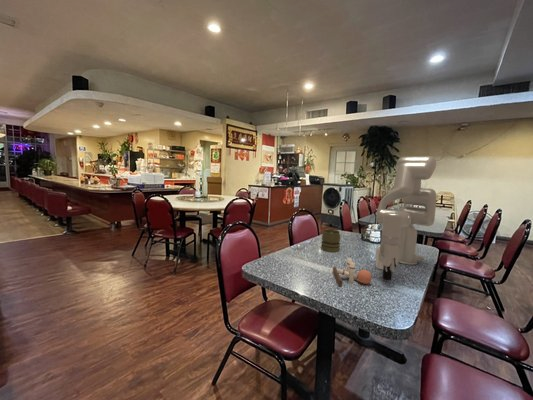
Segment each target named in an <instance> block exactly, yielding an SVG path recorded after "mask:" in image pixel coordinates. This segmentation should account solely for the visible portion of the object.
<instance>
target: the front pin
mask: <svg viewBox="0 0 533 400" xmlns="http://www.w3.org/2000/svg"><path fill="white" fill-rule="evenodd" d="M337 273H339V275H340V276H344V277H346V276H347V277H349V272H347V271H346V270H344V269H341V268H337ZM354 281H358V278H357V274H355V273H354Z"/></svg>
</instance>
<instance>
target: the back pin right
mask: <svg viewBox="0 0 533 400" xmlns="http://www.w3.org/2000/svg"><path fill="white" fill-rule="evenodd" d="M350 262H353V258H352V257H351V258H350V257H347V259H346V270H345V271H347V272H349V266H350ZM345 278H346V279H349V277H347V276H345Z"/></svg>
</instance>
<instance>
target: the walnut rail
mask: <svg viewBox="0 0 533 400" xmlns="http://www.w3.org/2000/svg"><path fill="white" fill-rule="evenodd" d="M337 271H338V268H337V267H336V266H333V267H332V274H333V275H334V278H335V280H336V283H337V284H338V287H341V288H342V287H343V279H342V278H341V274H339V273H337Z"/></svg>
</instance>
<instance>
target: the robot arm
mask: <svg viewBox="0 0 533 400" xmlns="http://www.w3.org/2000/svg"><path fill="white" fill-rule="evenodd" d="M396 165H397V167H396V173H395V178H394V181H393V182H394V183H393V187H392V189H391V190H390V191H389V192H387V193H386V194H385V195H383V197H382V198H381V200H380V201H379V202H378V205H377V206H378V207H377V211H376V215H375V219H376V222H377V223H378V224H379V225H382V227H381V236H380V237H381V239H380V246H379V247H380V251H379V261H380V262H381V263H382V264H383V270H382V279H383V280H384V281H392V275H393V272H395V268H397V267H398V265H399V263H400V264H401V265H402V264H403V265H409V266H414V265H417V264H418V260H419V261H421V260H422V261H424V260H425V257H424V256H423V255H422V256H421V255H418V254H416V250H417V248H416V247H417V241H418V240H417V238H418V230H417V228H416V227H415V226H414V225H418V226H424V227H425V226H426V227H431V226H433V224H434V223H435V217H436V209H437V208H436V207H437V192H436V190H434V189H432V188H425V187H424V188H423V187H421V186H422V185H421V184H422V181H423V180H429V179H430V178H432V176H433V174H434V172H435V170H436V166H437V159H436V158H435V157H434V156H429V155H428V156H426V155H424V156H422V155H421V156H416V155H415V156H402V157H399V158H398V159H397V163H396ZM399 199H401V200H402V202H403V203H404V204H405V205H409V206H401V207H399V209H398V210H396V209H395V210H394V209H387V206H388V205H389V204H390V203H391V202H394V201H396V200H399ZM417 206H420V207H417ZM423 207H424V208H423Z"/></svg>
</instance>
